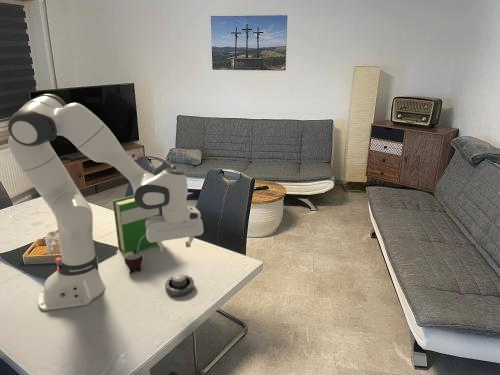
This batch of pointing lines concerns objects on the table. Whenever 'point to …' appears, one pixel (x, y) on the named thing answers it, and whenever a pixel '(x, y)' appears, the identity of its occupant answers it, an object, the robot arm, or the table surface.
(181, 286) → the cap
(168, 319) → the table surface
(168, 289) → the grey ashtray
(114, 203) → the hardback book
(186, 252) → the table surface
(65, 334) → the table surface
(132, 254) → the mate gourd
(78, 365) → the table surface
